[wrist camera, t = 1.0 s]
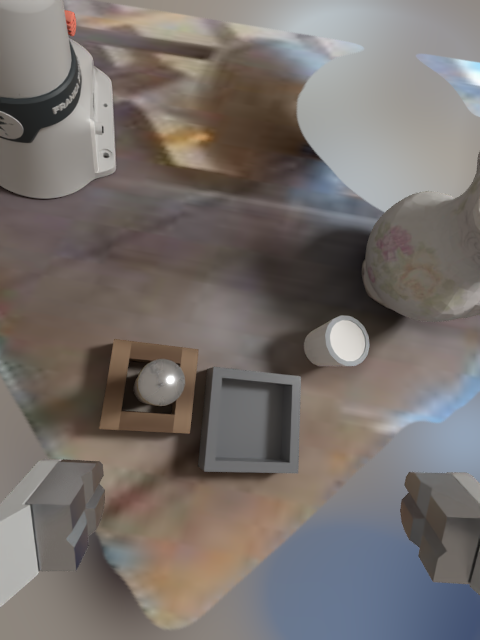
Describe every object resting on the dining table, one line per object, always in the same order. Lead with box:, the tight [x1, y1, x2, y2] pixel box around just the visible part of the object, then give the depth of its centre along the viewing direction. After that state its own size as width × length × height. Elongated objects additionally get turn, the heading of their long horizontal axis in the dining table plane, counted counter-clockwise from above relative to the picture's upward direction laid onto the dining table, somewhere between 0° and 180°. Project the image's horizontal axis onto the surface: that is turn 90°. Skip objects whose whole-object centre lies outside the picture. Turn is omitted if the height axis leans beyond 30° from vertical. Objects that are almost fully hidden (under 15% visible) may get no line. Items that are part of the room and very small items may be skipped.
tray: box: [198, 367, 301, 473], centre depth 44 cm, size 12×12×4 cm
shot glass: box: [304, 315, 370, 366], centre depth 49 cm, size 7×7×7 cm
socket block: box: [99, 339, 199, 434], centre depth 42 cm, size 10×10×3 cm
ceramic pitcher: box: [362, 152, 480, 322], centre depth 48 cm, size 22×20×25 cm
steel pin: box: [133, 359, 185, 406], centre depth 37 cm, size 4×4×14 cm
